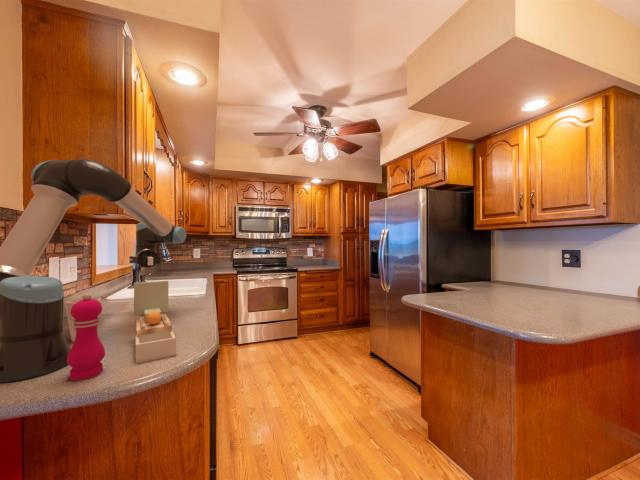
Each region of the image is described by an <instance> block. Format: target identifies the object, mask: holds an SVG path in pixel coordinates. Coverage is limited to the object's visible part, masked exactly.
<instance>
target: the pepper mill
mask: <svg viewBox="0 0 640 480" xmlns="http://www.w3.org/2000/svg"><path fill="white" fill-rule="evenodd" d="M81 298H83V300H81V301H78V302H76V303H75V304H74V305H73V306H72V308H71V316H72V317H73V318H74V319H75V321H74V322H73V323H74V325H73V327H75V328H76V338H75V341H74V342H73V345H72V346H71V347H70V351H69V354H68V358H67V363H68V364H67V365H68V366H69V367H70V370H69V379H70V380H71V381H72V380H73V381H80V380H81V381H82V380H87V379H91V378H93V377H96V376H98V375H100V374H101V373H102V372H103V363H102V362H101V361H103V359H104V358H105V357H106V351H105V347H104V345H103V343H102V341H101V340H100V337H99V335H98V328H97V325H98V326H99V324H100V315H101V313H102V311H103V304H102V305H101V303H100V302H99V301H97V300H94V299H91V298H92V294H91V293H90V292H86V293H83V295H82V296H81ZM99 314H100V315H99ZM98 316H99V317H98Z"/></svg>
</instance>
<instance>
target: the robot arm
mask: <svg viewBox="0 0 640 480" xmlns="http://www.w3.org/2000/svg"><path fill="white" fill-rule="evenodd" d="M30 180H32V181H31V189H30V190H31V192H32V194H34V195H33V197H32V198H31V199H30V201H29V203H28V204H27V206H26V207H25V208H24V211H22V213H21V215H19V218H18V219H17V221H16V223H14V225H13V227H12V228H11V230H10V231H9V233H8V235H7V236H6V238H5V239H4V240H3V242H2V244H1V245H0V383H7V382H8V383H9V382H10V383H11V382H17V381H23V380H27V379H32V378H36V377H39V376H43V375H47V374H50V373H53V372H55V371H58V370H60V369H63V368H64V367H66V366H67V365H68V363H67V358H68V354H69V351H70V350H71V347H70V345H69V344H68V341H67V339H66V337H65V335H64V296H65V292H64V287H63V286H64V285H63V282H62V281H61V280H60V279H59V278H56V277H52V276H41V275H38V276H37V275H36V276H35V275H31V274H32V272H33V271H34V269H35V267H36V266H37V263H38V261H39V260H40V258H41V257H42V255H43V253H44V251H45V249H46V247H47V246H48V244H49V242H50V241H51V239H52V237H53V235H54V234H55V232H56V231H57V228H58V227H59V225H60V223H61V221H62V220H63V218H64V216H65V215H66V212H67V211H68V209H69V208H73V207H76V206H77V205H78V203H79V201H81V198H82V196H98V197H100V198H103V199H104V200H106V202H108V203H114V204H115V205H117V206H118V207H119V208H121V209H122V210H123V211H125V212H126V213H128V214H129V215H130V216H131V217H132V218H134V219H135V220H136V221H138V223H137V224H136V231H135V234H136V235H135V236H136V237H135V239H136V244H135V246H136V247H135V248H136V251H135V252H136V253H135V256H133V255H130V256H129V260H128V261H129V264H136V265H138V266H140V267H142V268H145V269H148V268H152V267H154V266H155V265H156V264H161V263H165V262H167V256H166V255H158V254H157V253H156V252H157V251H156V250H157V245H156V244H158V245H159V244H170V245H171V244H174V245H175V244H182V243H184V242H185V241H186V238H187V231H186V229H185V228H184V227H183V226H178V225H177V226H175V225H174V224H172V223H171V222H170V221H169V220H168V219H167V218H166V217H164V215H162V213H160V212H159V211H158V210H157V209H156V208H154V207H153V206H152V205H151V204H150V203H149V202H148V201H147V200H146V199H144V198H143V197H142V196H141V195H140V194H139V193H138V192H136V191H135V190H134V189H133V187H132V184H131V182H130V181H129V180H127V179H126V178H125V177H124V176H123V175H122V174H120V173H119V172H117V171H116V170H115V169H113V168H111V167H109V166H108V165H107V164H104V163H103V162H100V161H97V160H95V159H90V158H76V159H74V158H73V159H50V160H47V161H42V162H40V163H38V164H37V165H36V166H34V167H33V168H32V171H31V174H30Z"/></svg>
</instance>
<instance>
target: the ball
mask: <svg viewBox="0 0 640 480" xmlns="http://www.w3.org/2000/svg"><path fill="white" fill-rule="evenodd" d="M160 320H161V315H160V313H159V312H156V311H153V312H150V313H149V314H148V315H147V317H146V321H147V323H149V324H151V325H155V324H157V323H158V322H159V321H160Z"/></svg>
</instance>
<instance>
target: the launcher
mask: <svg viewBox="0 0 640 480" xmlns="http://www.w3.org/2000/svg"><path fill="white" fill-rule="evenodd" d="M168 317H169V316H168V315H167V314H166V313H165V312H161V321H159V322H158V323H157V324H155V325H151V324H149V323H145V320H144V314H142V315H138V317H135V330H136V335H137V336H140V335H146V334H153V333H159V332H165V331H171V330H172V331H173V325H172V323H171V322H170V319H169V318H168Z"/></svg>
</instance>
